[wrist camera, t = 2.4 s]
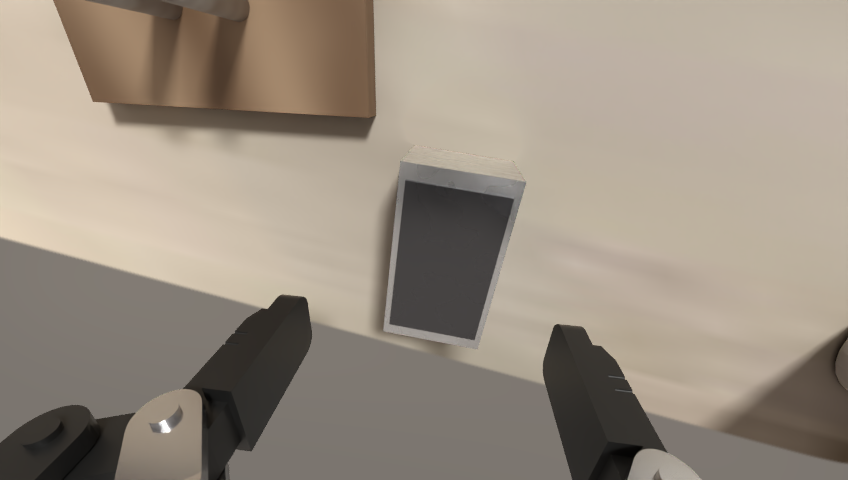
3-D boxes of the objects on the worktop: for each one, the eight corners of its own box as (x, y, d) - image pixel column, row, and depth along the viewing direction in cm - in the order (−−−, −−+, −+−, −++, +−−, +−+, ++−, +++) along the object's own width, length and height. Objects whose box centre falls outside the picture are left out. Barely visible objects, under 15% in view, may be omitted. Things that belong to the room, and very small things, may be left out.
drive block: (512, 159, 16) (527, 182, 12) (475, 301, 20) (477, 351, 16) (414, 144, 16) (399, 161, 12) (397, 287, 20) (382, 333, 16)
